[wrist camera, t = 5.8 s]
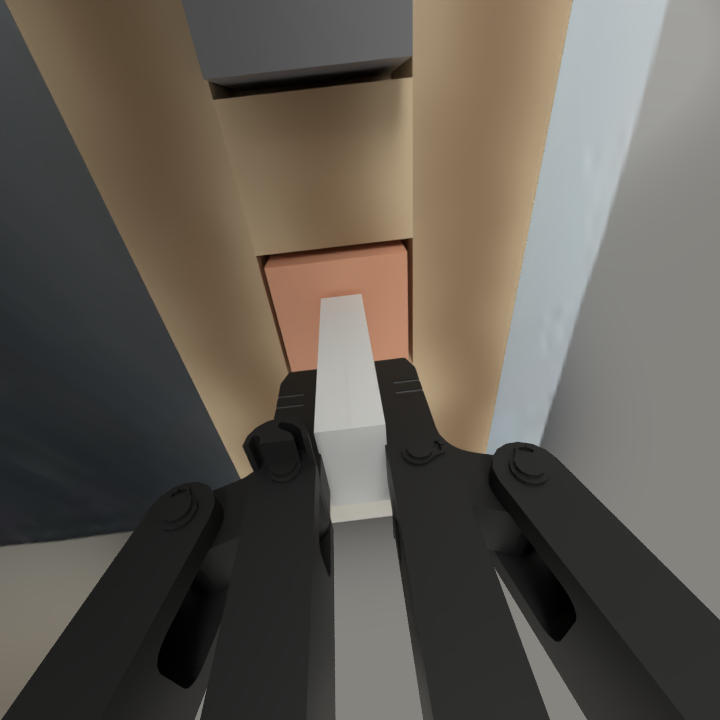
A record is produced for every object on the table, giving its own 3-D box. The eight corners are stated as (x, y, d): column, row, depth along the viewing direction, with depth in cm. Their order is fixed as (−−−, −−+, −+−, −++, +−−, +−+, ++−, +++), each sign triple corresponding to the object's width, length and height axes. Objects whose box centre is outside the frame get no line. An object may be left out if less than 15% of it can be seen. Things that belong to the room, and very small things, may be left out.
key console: (275, 466, 26) (265, 529, 22) (5, -244, 9) (-269, -553, 5) (453, 445, 26) (475, 504, 22) (530, -301, 9) (697, -651, 5)
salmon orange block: (300, 333, 18) (293, 380, 15) (278, 236, 15) (264, 268, 12) (394, 321, 18) (408, 366, 15) (390, 223, 15) (407, 251, 12)
